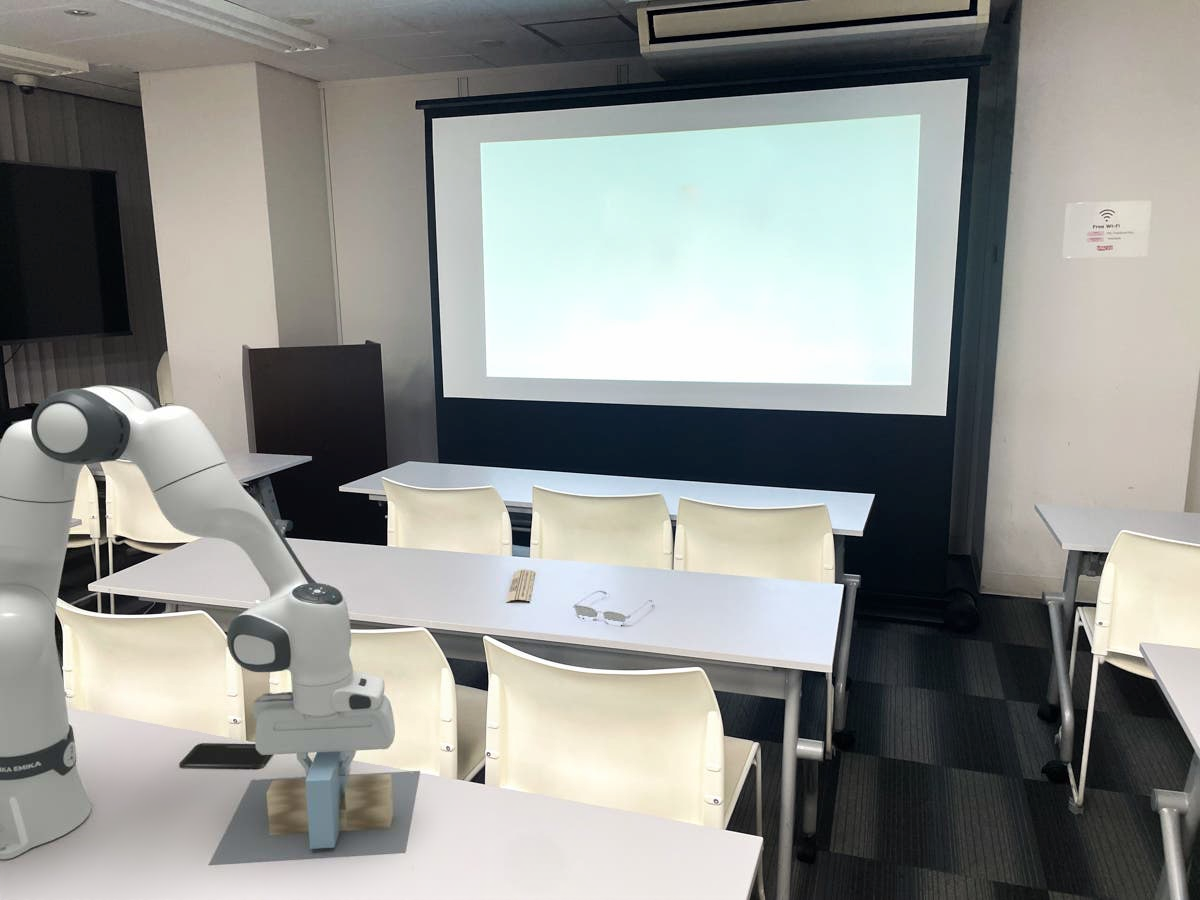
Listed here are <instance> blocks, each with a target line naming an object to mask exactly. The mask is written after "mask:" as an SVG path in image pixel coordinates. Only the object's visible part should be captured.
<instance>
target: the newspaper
mask: <svg viewBox="0 0 1200 900" xmlns="http://www.w3.org/2000/svg"><path fill="white" fill-rule="evenodd" d="M534 576H536V571H535V570H531V569H518V570H516V571H514V572H513V575H512V580H511V583H510V587H509V590H508V596H507V600H506V603H507V604H509V602H511V601H517V600H519V601H526V602H528V601H529V603H531V599H532V594H531V592H532V593H533V588H532V586H533V587H534V583H533V581H534V582H535V578H534ZM530 598H531V599H530Z"/></svg>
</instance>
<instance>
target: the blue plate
mask: <svg viewBox="0 0 1200 900" xmlns="http://www.w3.org/2000/svg"><path fill="white" fill-rule="evenodd" d="M315 753H316V754H315V756H314V759H313V760H312V762H313V763H312V766H311V768H310V771H309V773H308V776H307V778H306V781H305V783H306V797H307V811H308V825H309V840H310V849H316V848H333V847H335V844H336V841H337V838H338V834H339V831H340V817H339V806H340V803H341V800H342V797H345V786H346V783H347V780H348V777H349V776H350V775H351V773H350V774H349V776H339V764H340V761H342V760H346V759H347V757H348V756H345V751H336V752H315Z"/></svg>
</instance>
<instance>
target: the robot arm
mask: <svg viewBox="0 0 1200 900" xmlns="http://www.w3.org/2000/svg"><path fill="white" fill-rule="evenodd" d="M118 459H123V460H127V461H130V462H131V463H132V464H133V465H135V466H136V467H137V468H138V469H139V470H140V472H141V473H142V475H143V478H144V479H145V481H146V482H147V485H148V487H149V489H150V491H151V493H152V495H153V497H154V500H155V501H156V504H157V507H158V508H159V510H160V511H161V513H162V515H163V516H164V518H165V519H166V520H167V522H168V523H169V524H170V525H171V526H172V527H173V528H174V529H176V530H178V532H180V533H181V532H182V533H184V534H186V535H189V536H192V537H199V538H209V539H211V538H215V539H221V540H225V541H228V542H232V543H233V544H236V545H237V546H238V547H239V548H241V549H242V550H243V551H244V552H245V553H246V555H247V557H248V558H249V559H250V561H251V563H252V565H254V567H255V569H256V570H257V573H259V575H260V577H261V578H262V580H263V581H264V582H265V584H266V586H267V587H268V590H269V597H268V598H267V597H266V599H264V600H263V601H261V602H258V603H257V604H255V605H253V606H251V607H250V608H248V609H247V610H244V611H243V612H242V613H240V614H239V615H238V616H236V617H235V618H234V619H233V620H232V621H231V622H230V623H229V626H228V629H227V634H226V644H227V647H228V650H229V653H230V655H231V657H232V658H233V660H234V662H236V664H238V666H240V667H241V668H243V669H245V670H247V671H250V672H253V673H274V672H281V671H282V672H283V671H286V670H287V671H289V672H290V679H291V691H288V692H287V691H284V692H283V691H282V692H275V693H274V692H273V693H272V692H267V693H262V695H261V696H258V697H257V698H256V699H254V701H253V704H252V711H253V712H252V714H253V717H254V720H256V726H255V740H254V741H255V743H254V744H255V745H256V750H257V751H258V752H259V753H260V754H261V755H273V756H274V755H291V754H296V760H297V761H298V763H300V765H301V766H302V767H303V768H304V769H305V777H306V778H307V776H308V773H309V771H310V768H311V766H312V763H313V760H312V759H311V758H310V756H309V755H308V754H311V753H312V754H313V753H317V752H336V751H345V756H348V757H347V759H346V760H342V761H340V764H339V776H349V774H350V775H351V770H352V769H351V768H352V767H351V764H352V762H353V760H354V758H355V757H356V753H357V752H358V751H371V750H373V751H374V750H388V749H389V748H390V747H391V746H392V744H393V743H394V740H395V735H396V727H395V726H396V725H395V718H394V713H393V708H392V705H391V701H390V700H389V698H388V697H387V696H386V695H385V694H384V693H385V680H384V679H383V678H382V677H379V676H374V675H372V674H368V673H363V672H360V671H357V670H355V669H354V667H353V663H352V661H351V658H350V650H351V646H352V634H351V632H352V631H351V622H350V621H351V620H350V613H349V609H348V605H347V602H346V599H345V597H344V595H343V594H342V592H341V590H339V589H338V588H336V587H335V586H332V585H329V584H326V583H320V582H317V581H315V579H313V577H311V575H310V573H308V571H306V569H305V568H304V566H303V564H302V563H301V561H300V560H299V558H298V556H297V555H296V554H295V552H294V551H293V549H292V547H291V546H290V544H289V543H288V540H287V539H286V538H285V536H284V535H283V533H282V532H281V530H280V528H279V526H278V525H277V523H276V522H275V520H274V519H273V518H272V516H271V515H270V513H269V512H268V511H267V509H266V508H265V507H264V506H263V505H262V504H261V503H260V502H259V501H258V500H257V499H256V498H254V497H252V496H251V495H250V494H249V493H248V492H247V491H246V490H245V488H244V487H243V485H242V484H241V483H240V482H239V480H238V478H237V477H236V476H235V474H234V472H233V471H232V469H231V467H230V465H229V463H228V461H227V459H226V457H225V455H224V453H223V451H222V450H221V447H220V446H219V444H218V442H217V441H216V439H215V438H214V437H213V434H212V433H211V431H209V428H207V426H206V425H205V422H203V420H202V419H201V418H200V417H199V416H198V414H197V413H196V412H195V411H194V410H192V409H190V408H189V407H187V406H186V407H185V406H182V405H168V406H165V405H164V406H162V407H161V406H160V405H159V403H158V402H157V400H156V399H155V398H154V397H152V396H151V395H150V394H149V393H147V392H145V391H143V390H141V389H138V388H135V387H131V386H126V385H125V386H123V385H122V386H115V385H105V384H104V385H102V384H100V385H94V386H93V385H91V386H89V387H84V388H68V389H67V388H66V389H64V390H61V391H57V392H56V393H52V394H51V395H50V396H48V397H46V398H45V399H44V400H43V401H41V402H40V403H39V404H38V406H37V407H36V409H34V411H33V413H32V418H29V419H24V420H20V421H18V422H15V423H13V424H12V425H10V426H9V427H8V428H7V429H6V430H5V432H4V434H3V436H2V438H1V441H0V860H10V859H12V858H15V857H17V856H20V855H21V854H24V853H25V852H27V851H29V850H30V849H33V848H35V847H37V846H40V845H43V844H46V843H48V842H51V841H54V840H56V839H58V838H60V837H62V836H64V835H66V834H68V833H70V832H71V831H73V830H74V829H76V828H77V827H78V826H80V825H81V824H82V823H83V822H84V821H86V819H87V818H88V817H89V816H90V813H91V811H92V808H93V804H92V802H91V800H90V798H89V797H88V795H87V793H86V791H85V787H84V785H83V783H82V780H81V778H80V774H79V773H80V772H79V770H78V767H77V749H76V741H75V735H74V728H73V727H72V725H71V724H70V723H69V716H68V715H69V714H68V707H67V699H66V698H67V697H66V692H65V683H64V679H63V675H62V669H61V666H60V664H61V663H60V659H59V653H58V649H57V641H56V640H57V639H56V634H55V632H56V629H55V619H56V610H57V609H56V608H57V603H58V597H59V591H60V590H59V589H60V587H61V586H60V585H61V581H62V580H61V579H62V573H63V569H64V563H65V557H66V554H67V549H68V542H69V538H70V530H71V526H72V525H71V524H72V520H73V513H74V506H75V502H76V496H77V495H76V494H77V489H78V481H79V477H80V474H81V472H82V469H83V468H84V466H85V465H92V464H97V463H105V462H113V461H117V460H118Z"/></svg>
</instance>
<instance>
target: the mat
mask: <svg viewBox="0 0 1200 900" xmlns="http://www.w3.org/2000/svg"><path fill="white" fill-rule="evenodd" d="M411 772H412V773H411ZM384 774H391V780H392V799H393V818H392V823H391V827H390V828H381V829H365V830H348V831H339V834H338V838H337V841H336V844H335V847H333V848H316V849H310V840H309V833H298V834H281V835H270V831H269V819H268V807H267V795H266V793H267V791H268V789H269V787H270V785H271V783H272V781H273V780H292V779H306V776H301V777H300V776H298V777H297V776H296V777H283V778H281V777H280V778H262V779H261V778H260V779H251V781H250V782H249V785H248V787H247V789H246V790H245V793H244V795H242V798H241V800H240V803H238V806H237V808H236V810H235V812H234V814H233V816H232V818H231V820H230V822H229V824H228V826H227V828H226V830H225V832H224V833H223V836H222V837H221V839H220V841H219V843H218V845H217V847H216V848H215V851H214V852H213V855H212V857H211V859H210V861H209V862H208V866H219V865H222V866H223V865H233V864H235V865H236V864H250V863H251V864H252V863H264V862H267V863H268V862H282V861H284V862H285V861H299V860H300V861H301V860H314V859H327V858H329V859H331V858H333V859H334V858H345V857H347V858H349V857H360V856H361V857H362V856H363V857H364V856H377V855H378V856H380V855H394V854H406V852H407V847H408V840H409V836H410V830H411V823H412V818H413V813H414V808H415V804H416V803H415V802H416V796H417V791H418V786H419V780H420V775H421V770H410V771H408V770H407V771H391V772H374V773H373V772H372V773H356V774H351V773H350V776H366V775H384Z"/></svg>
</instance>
